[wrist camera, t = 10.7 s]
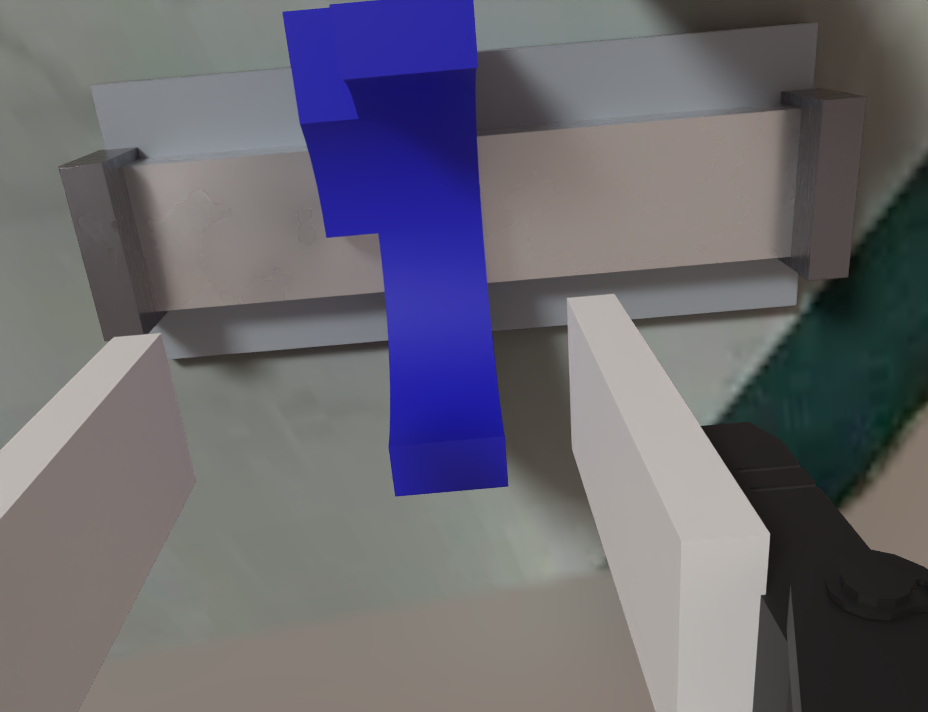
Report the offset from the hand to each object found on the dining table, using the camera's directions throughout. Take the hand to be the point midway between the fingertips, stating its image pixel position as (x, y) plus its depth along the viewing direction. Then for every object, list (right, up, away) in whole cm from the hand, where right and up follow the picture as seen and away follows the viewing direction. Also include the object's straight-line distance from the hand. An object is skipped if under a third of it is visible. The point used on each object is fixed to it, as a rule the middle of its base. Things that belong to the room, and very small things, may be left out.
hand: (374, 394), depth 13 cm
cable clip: (0, +5, +12) cm, 13 cm away
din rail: (+1, +6, +14) cm, 15 cm away
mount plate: (+1, +6, +14) cm, 15 cm away
